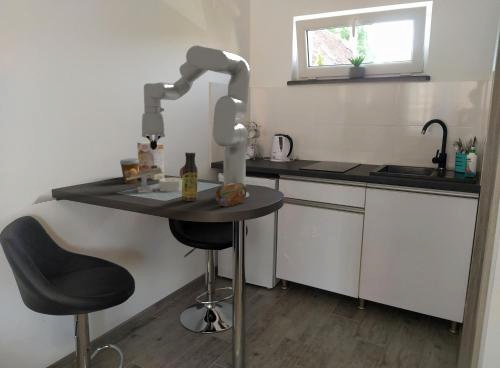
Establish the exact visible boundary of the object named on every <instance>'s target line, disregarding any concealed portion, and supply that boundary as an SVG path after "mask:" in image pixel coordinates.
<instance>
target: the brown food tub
mask: <svg viewBox="0 0 500 368" xmlns="http://www.w3.org/2000/svg"><path fill="white" fill-rule="evenodd" d="M119 163H120V167H121V172H122V178H123V183H124V184H136V183H137V182H138V178H135V179H131V180H126V177H125V173H124V171H127V170H129V171H130V169H135V170H136V171H137V172H139V168H138V163H139V161H138V158H121V159H120V161H119Z"/></svg>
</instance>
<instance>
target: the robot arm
mask: <svg viewBox="0 0 500 368" xmlns="http://www.w3.org/2000/svg"><path fill="white" fill-rule="evenodd" d="M186 51H187V52H186V55H185V57H186V59H185V60H186V61H185V62H183V64H181V65H180V66H179V73H180V75H181V77H180V78H179V79H178V80H177V81H175V82H174V83H170V82H155V83H154V82H153V83H145V84H143V104H144V105H143V106H144V110H143V111H144V113H142V117H141V132H142V133H141V137H142V138H145V139H147V140H149V142H150V148H152V150H156V148H157V143H158V141H159V140H161V138H165V137H166V134H165V122H164V115H163V113H162V112H165V108H162V105H161V104H162V101H161V100H164V101H176V100H179V99H181V98H182V97H183V96H184V95H186V94H187V93H188V92H189V91H190V90H191V89H192V86H193V83H194V82H195V81H196V80H198V79H199V78H200V77H201V76H204V75H205V74H206V73H207V72H208V71H211V72H215V73H219V74H224V75H228V76H230V79H229V81H228V86H227V95H223V96H221V97H219V99H217V101H216V103H215V105H214V110H213V123H212V124H213V125H212V126H213V127H212V136H213V140H214V142H215V143H216V144H217V145H218V146H219V147H221V148H222V147H224V151H223V185H227V184H232V183H242V184H243V185H244V186H245V187H246V168H247V167H246V160H247V146H248V144H247V143H248V136H249V133H248V130H247V128H246V126H244V125H243V124H242V123H239V122H236V120H241V119H243V118H244V117H246V114H247V112H248V100H249V85H250V78H251V77H250V76H251V71H250V66H249V64H248V63H247V61H246V60H245V59H244V58H243V57H241V56H240V55H238V54H234V53H232V52H228V51H225V50H221V49H216V48H211V47H206V46H201V45H193V46H191V47H189V48H188V50H186ZM153 136H154V138H153ZM249 196H250V194H249V192H248V191H246V197H245V199H246V198H248V197H249Z"/></svg>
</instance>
